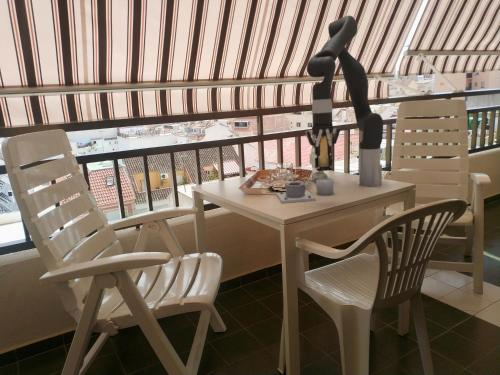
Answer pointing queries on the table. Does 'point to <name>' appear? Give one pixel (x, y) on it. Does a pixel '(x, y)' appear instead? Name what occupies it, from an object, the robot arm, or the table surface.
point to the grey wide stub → (324, 187)
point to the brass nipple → (323, 152)
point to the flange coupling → (295, 193)
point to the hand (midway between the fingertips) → (323, 155)
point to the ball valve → (315, 165)
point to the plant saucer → (284, 187)
